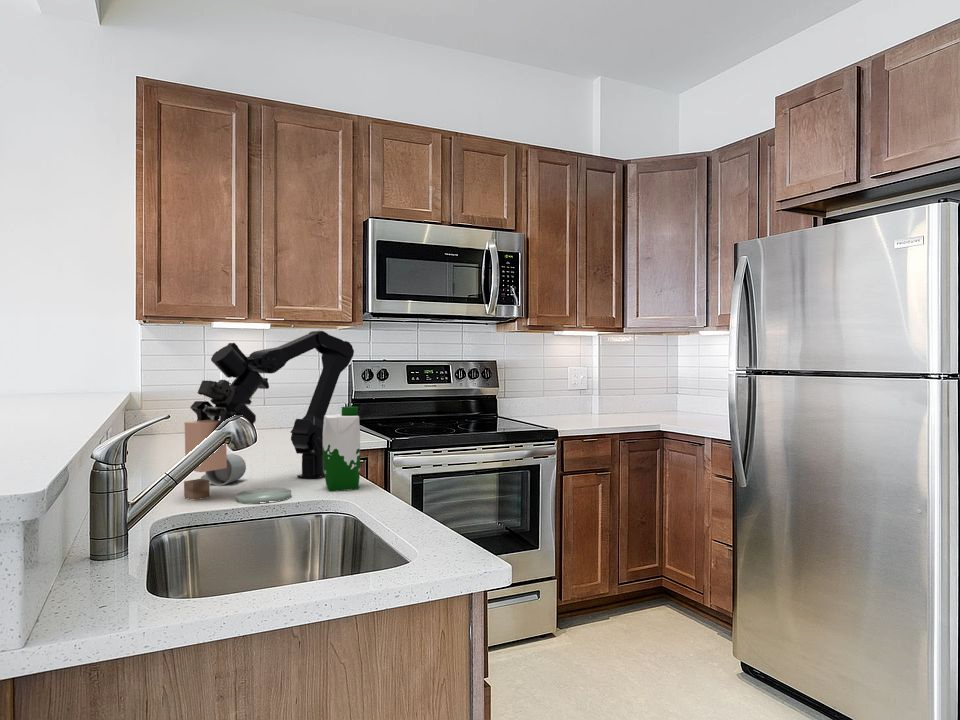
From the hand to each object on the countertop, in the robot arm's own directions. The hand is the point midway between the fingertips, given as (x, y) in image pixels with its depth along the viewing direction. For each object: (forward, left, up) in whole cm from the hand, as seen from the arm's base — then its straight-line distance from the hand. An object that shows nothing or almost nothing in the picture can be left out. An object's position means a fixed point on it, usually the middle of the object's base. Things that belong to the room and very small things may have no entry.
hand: (200, 441), depth 148 cm
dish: (-4, +14, -13) cm, 20 cm away
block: (-1, -2, -13) cm, 14 cm away
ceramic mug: (-18, -8, -14) cm, 24 cm away
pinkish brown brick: (-1, 0, -7) cm, 7 cm away
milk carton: (-19, +26, -14) cm, 35 cm away
